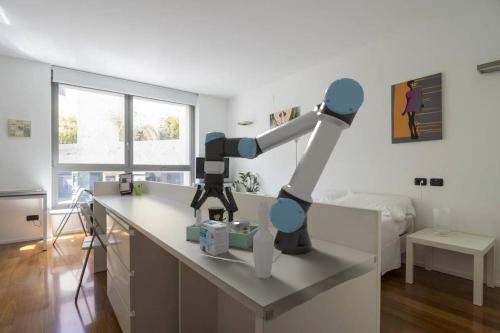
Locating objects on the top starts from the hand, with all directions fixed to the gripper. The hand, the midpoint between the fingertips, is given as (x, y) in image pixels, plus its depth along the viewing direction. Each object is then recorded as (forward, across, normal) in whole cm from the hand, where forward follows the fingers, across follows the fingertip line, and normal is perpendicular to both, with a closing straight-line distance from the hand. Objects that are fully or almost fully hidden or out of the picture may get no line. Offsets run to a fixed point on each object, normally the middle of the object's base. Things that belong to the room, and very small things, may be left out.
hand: (213, 228), depth 98 cm
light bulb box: (+9, -1, 0) cm, 9 cm away
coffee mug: (+9, +19, -36) cm, 42 cm away
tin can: (+8, -5, -15) cm, 17 cm away
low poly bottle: (+9, -26, +11) cm, 29 cm away
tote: (+9, +3, -15) cm, 18 cm away
